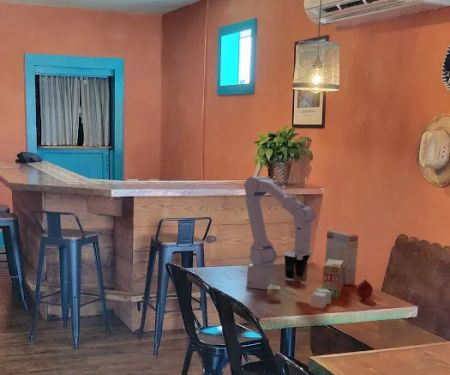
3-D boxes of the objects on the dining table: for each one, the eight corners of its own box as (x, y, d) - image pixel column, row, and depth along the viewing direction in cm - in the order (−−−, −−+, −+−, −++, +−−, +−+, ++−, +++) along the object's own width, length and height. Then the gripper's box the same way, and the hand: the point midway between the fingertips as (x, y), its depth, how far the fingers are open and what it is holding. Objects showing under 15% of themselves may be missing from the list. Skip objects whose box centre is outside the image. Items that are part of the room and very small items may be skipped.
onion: (372, 298, 236) (374, 278, 235) (371, 302, 230) (372, 281, 230) (357, 296, 238) (358, 276, 237) (355, 300, 232) (356, 279, 232)
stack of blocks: (329, 283, 256) (331, 254, 255) (344, 285, 255) (346, 256, 253) (321, 296, 236) (323, 264, 235) (337, 298, 234) (340, 266, 233)
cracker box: (355, 284, 256) (359, 235, 254) (344, 285, 253) (347, 235, 251) (334, 276, 268) (337, 229, 266) (323, 277, 265) (326, 229, 263)
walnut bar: (293, 280, 229) (294, 264, 229) (294, 277, 234) (295, 261, 233) (305, 281, 228) (306, 265, 228) (306, 278, 233) (307, 263, 232)
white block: (310, 306, 222) (311, 294, 221) (314, 303, 226) (315, 291, 225) (322, 308, 220) (323, 296, 219) (326, 305, 224) (327, 293, 223)
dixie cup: (297, 277, 264) (299, 252, 263) (303, 282, 256) (305, 256, 255) (279, 277, 262) (281, 251, 261) (285, 282, 254) (287, 256, 253)
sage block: (318, 304, 225) (319, 292, 225) (314, 300, 230) (315, 288, 229) (330, 304, 226) (331, 292, 226) (326, 300, 231) (326, 288, 230)
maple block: (267, 300, 227) (267, 288, 226) (266, 297, 231) (267, 285, 231) (279, 301, 226) (280, 289, 226) (278, 297, 231) (279, 286, 231)
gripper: (311, 243, 221) (309, 280, 223) (315, 237, 236) (312, 271, 237) (292, 241, 223) (289, 278, 224) (296, 235, 237) (294, 269, 238)
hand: (300, 274), depth 231 cm, fingers closed on walnut bar, 4 cm apart
